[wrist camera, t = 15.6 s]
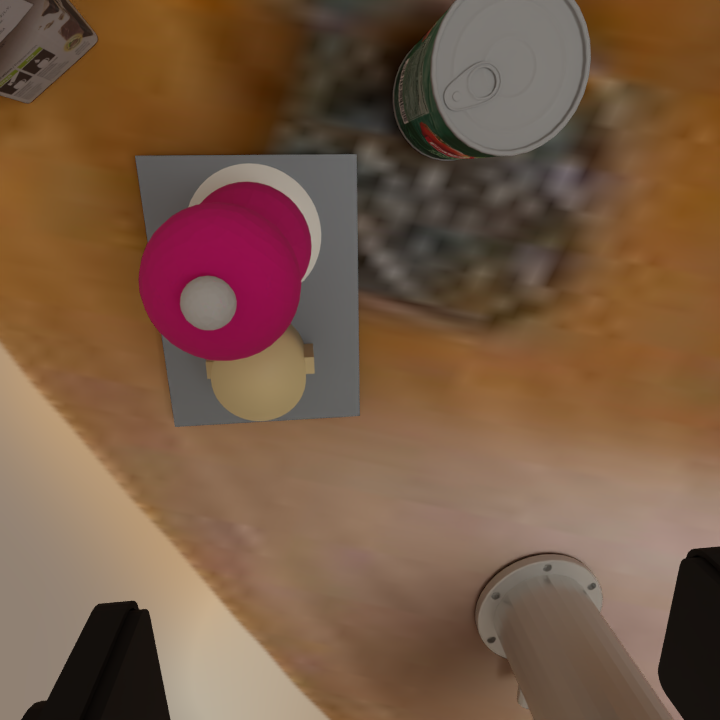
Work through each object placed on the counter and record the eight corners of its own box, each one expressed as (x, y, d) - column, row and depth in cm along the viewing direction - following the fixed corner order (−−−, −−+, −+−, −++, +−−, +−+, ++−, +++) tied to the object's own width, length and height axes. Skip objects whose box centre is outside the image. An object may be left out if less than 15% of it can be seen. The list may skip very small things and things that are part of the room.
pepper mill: (183, 258, 35) (44, 354, 16) (230, 158, 33) (138, 135, 14) (279, 308, 37) (256, 448, 18) (329, 217, 35) (362, 265, 16)
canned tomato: (481, 7, 33) (564, -68, 23) (522, 128, 36) (612, 109, 26) (371, 66, 34) (404, 19, 23) (420, 181, 36) (467, 184, 26)
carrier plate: (357, 407, 42) (367, 447, 36) (179, 418, 40) (158, 461, 34) (354, 154, 35) (366, 151, 29) (141, 156, 34) (107, 152, 28)
